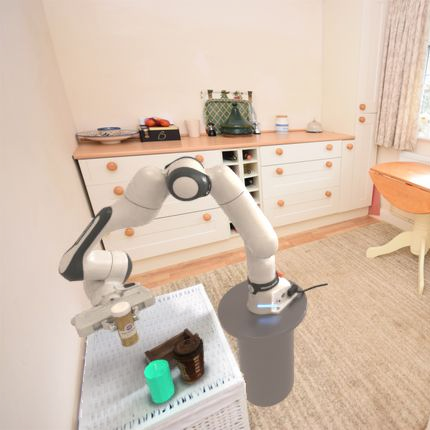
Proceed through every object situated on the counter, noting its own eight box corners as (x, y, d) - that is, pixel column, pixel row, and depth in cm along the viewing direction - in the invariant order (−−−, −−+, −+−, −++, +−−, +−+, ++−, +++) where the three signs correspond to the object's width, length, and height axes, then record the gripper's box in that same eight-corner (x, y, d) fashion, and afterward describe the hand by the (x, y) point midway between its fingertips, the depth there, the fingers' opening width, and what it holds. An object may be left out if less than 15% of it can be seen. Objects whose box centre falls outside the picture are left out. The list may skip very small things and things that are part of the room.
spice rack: (188, 335, 104) (185, 320, 101) (201, 349, 99) (198, 334, 96) (146, 359, 94) (141, 344, 92) (158, 377, 89) (153, 361, 86)
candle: (147, 395, 84) (138, 366, 79) (167, 379, 88) (160, 351, 84) (158, 407, 81) (149, 378, 76) (178, 391, 85) (171, 362, 81)
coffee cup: (190, 359, 95) (184, 329, 90) (213, 364, 94) (208, 334, 88) (172, 383, 87) (164, 352, 82) (197, 389, 86) (191, 358, 81)
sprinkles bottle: (129, 349, 85) (118, 314, 79) (117, 345, 86) (106, 309, 80) (143, 337, 89) (133, 303, 83) (131, 333, 90) (121, 299, 84)
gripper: (65, 310, 83) (77, 336, 75) (142, 279, 98) (160, 298, 90) (72, 326, 86) (85, 354, 78) (146, 294, 100) (164, 314, 92)
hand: (126, 323), depth 84 cm, fingers closed on sprinkles bottle, 4 cm apart
